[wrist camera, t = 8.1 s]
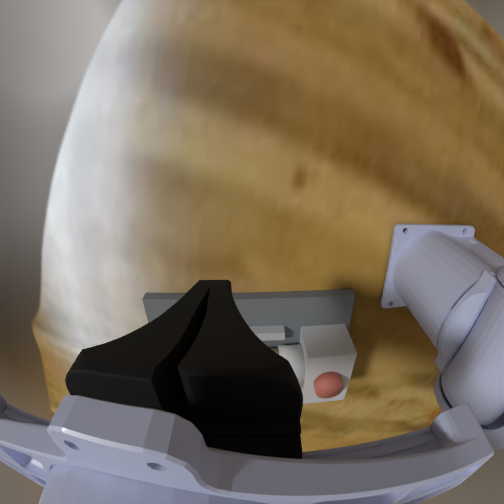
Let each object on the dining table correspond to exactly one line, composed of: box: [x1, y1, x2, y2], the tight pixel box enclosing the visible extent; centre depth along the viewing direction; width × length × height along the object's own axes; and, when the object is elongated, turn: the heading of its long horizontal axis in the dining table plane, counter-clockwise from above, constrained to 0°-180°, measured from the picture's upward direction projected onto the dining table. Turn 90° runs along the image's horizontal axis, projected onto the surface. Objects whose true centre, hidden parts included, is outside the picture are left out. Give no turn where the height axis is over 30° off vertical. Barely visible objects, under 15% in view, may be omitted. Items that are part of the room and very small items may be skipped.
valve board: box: [143, 289, 357, 404], centre depth 24 cm, size 18×12×6 cm, turn 91°
